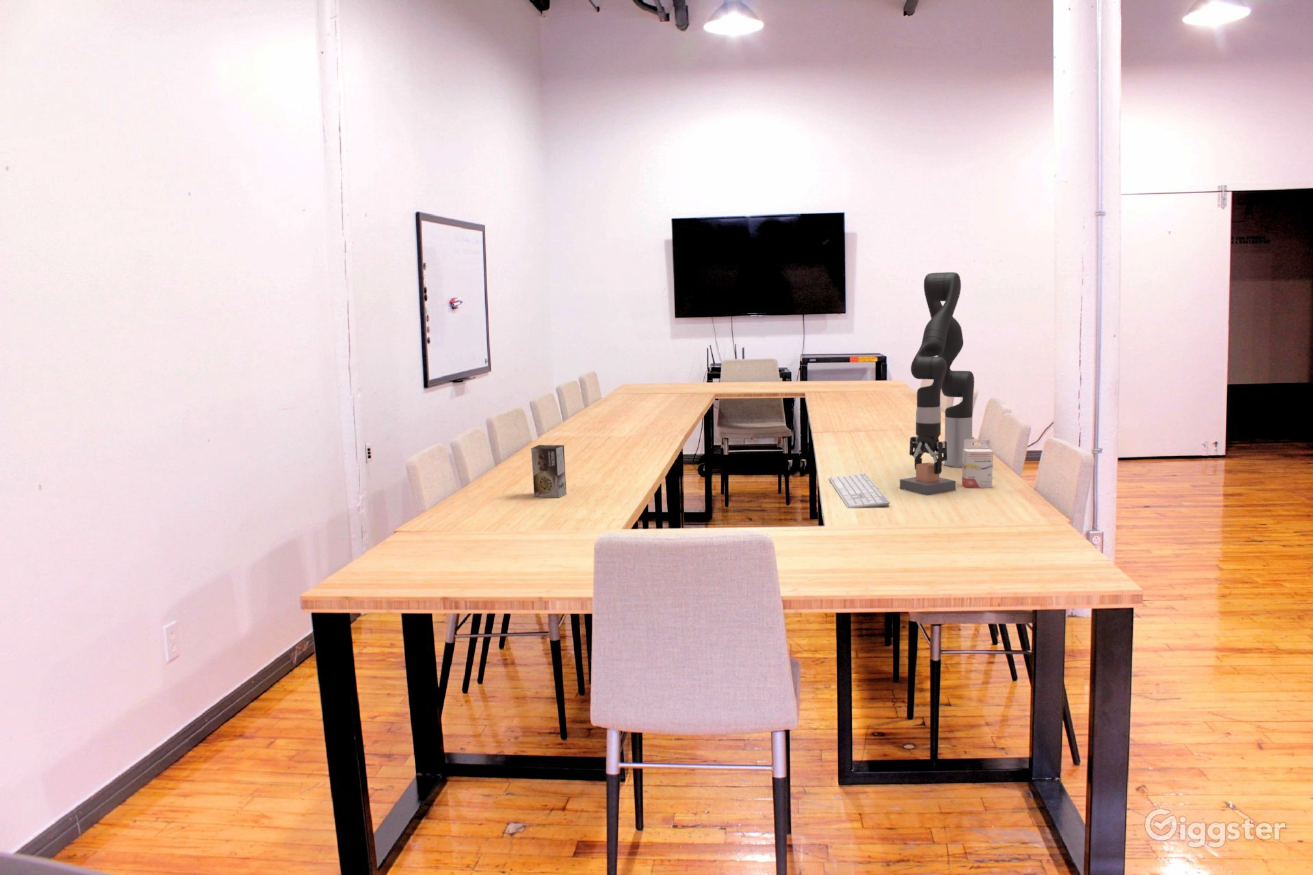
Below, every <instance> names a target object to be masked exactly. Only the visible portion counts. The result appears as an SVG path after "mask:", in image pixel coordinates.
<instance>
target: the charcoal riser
mask: <svg viewBox="0 0 1313 875" xmlns="http://www.w3.org/2000/svg"><path fill="white" fill-rule="evenodd" d="M956 485H957V481H956V480H954V479H949V478H944V477H941V476H939V481H932V482H924V481H919V480H916V476H914V477H906V478H900V479H899V489H900V490H904V489H905V491H909V492H913V493H916V492H917V493H916V494H921V495H924V494H925V496H928V495H936V494H940V493H941V492H942V493H947V492H955V491H956V490H957V486H956ZM942 493H941V494H942Z"/></svg>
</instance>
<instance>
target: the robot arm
mask: <svg viewBox="0 0 1313 875" xmlns="http://www.w3.org/2000/svg"><path fill="white" fill-rule="evenodd" d="M961 289H962V281H961V276H960V275H959V273H957V272H952V271H951V272H950V271H949V272H945V271H944V272H932V273H931V272H930V273H928V274H926V275H925V277H924V280H923V291H924V296H925V300H926V305H927V308H928V311H929V315H930V316H929V317H930V320H929V321H928V322H927V323H926V325H925V327H924V331H923V335H922V341H921V344H920V347H919V349H918V351H917V353H916V354H915V355H914V358H913V359H912V362H911V365H910V372H911V374H912V377H913V378H914V379H916V380H933V382H932V384H931V385H928V386H922V387H919V388H917V391H916V411H915V435H916V436H911V437H910V438H909V454H908V455H909V456H912V457H913V458H914V469H915V471H916V464H921V463H923V457H922V456H923V455H924V454H925V453H926V454H929V455H930V457H932V458H933V461H934V474H939V475H940V474H941V473H942V471H943V470H942V468H943V466H942V465H943V462H944V466H947V467H956V468H962V464H963V449H964V440H965V439H966V440H972V439H975V437H973V414H974V412H973V408H974V394H975V393H974V390H975V377H974V373H973V372H972V371H970V370H952V369H951V366H952V364H953V362H954V361H955V360H956V359H957V357H958V356H959V354H960V352H961V351H962V349H963V346H964V337H963V330H962V326H961V325H960V324H961V323H959V321H957V319H956V318H955V317H954V313H955V310H956V307H957V304H958V301H959V299H960V295H961ZM942 302H944V303H943V304H942ZM941 393H942V395H943V396H945V397H948V398H962V400H961V401H960V402H959V403H957V404H956V405H952V406H949V407H947V408H945V410H944V441H940V439H939V438H940V436H941V434H942V432H941V431H942V428H941V425H942V424H941V423H942V412H941ZM972 445H975V443H972Z"/></svg>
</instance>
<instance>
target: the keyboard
mask: <svg viewBox="0 0 1313 875" xmlns="http://www.w3.org/2000/svg"><path fill="white" fill-rule="evenodd" d="M828 480H829V482H830V483H831V485H832V486H833V488H834V489H835V490H836V491H835V492H837V494H838V495H839V497H840V499H841V500H842V502H843V503H844V505H845V506H846V508H847V507H848V508H847V509H863V508H865V507H866V508H874V507H878V508H879V507H880V508H881V506H884V507H889V506H890V504H891V501H889V499H888V498H887V497H886V496H885V494H884V493H883V492H882V491H881V489H879V488H878V487H877V485H876V484H875V483H874V481H873V480H872V479H871V477H869V476H868V474H867V473H858V474H856V473H855V474H850V475H849V474H848V475H840V476H832V477H831V476H830V477H828Z"/></svg>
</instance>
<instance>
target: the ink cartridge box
mask: <svg viewBox="0 0 1313 875" xmlns="http://www.w3.org/2000/svg"><path fill="white" fill-rule="evenodd" d="M972 443H974V445H972ZM976 443H978V444H976ZM990 444H991V441H990V439H987V438H985V439H983V438H981V439H977V438H974V439H972V440H966V439H965V440H964V449H963V464H962V467H961V468H962V471H961V472H962V474H961V485H962V486H963V487H964V488H993V471H994V470H993V469H994V468H993V467H994V463H993V461H994V451H993V450H992V449H990Z"/></svg>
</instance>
